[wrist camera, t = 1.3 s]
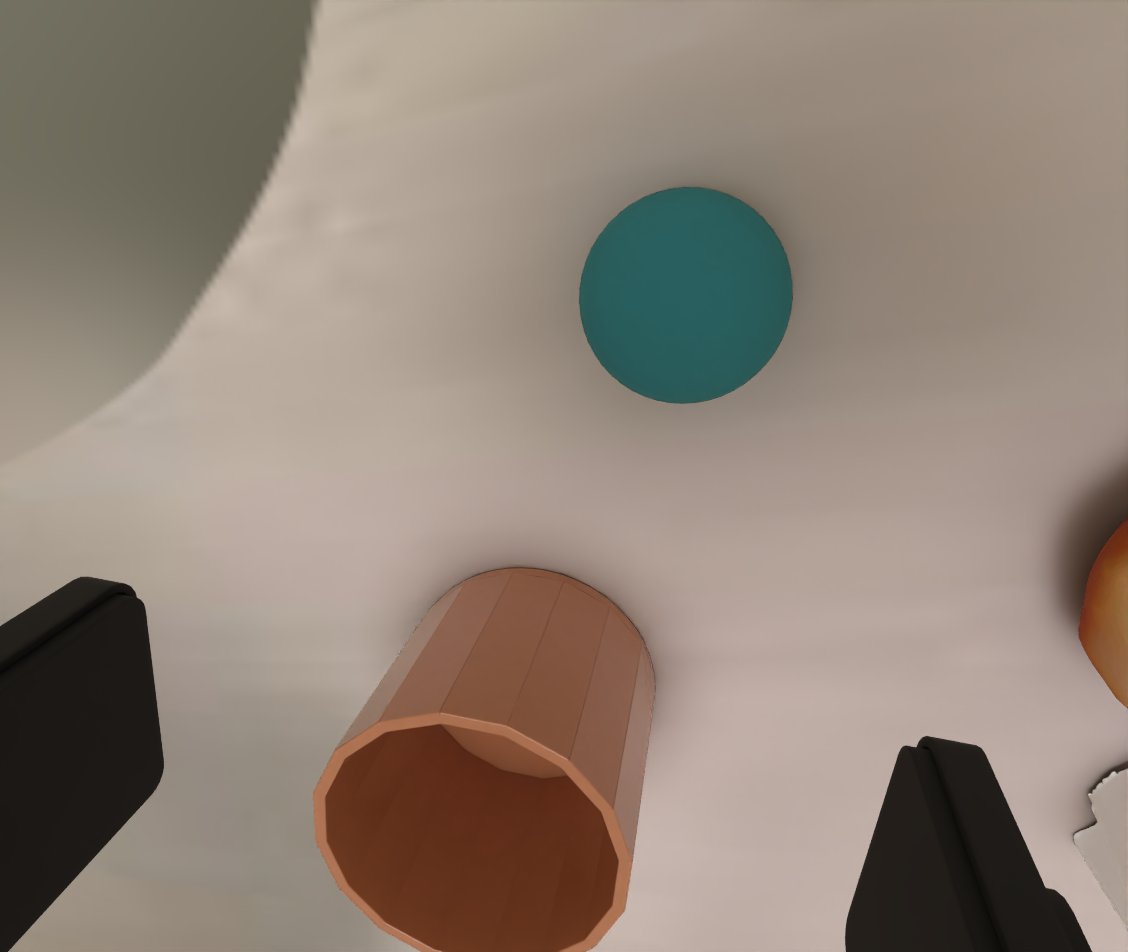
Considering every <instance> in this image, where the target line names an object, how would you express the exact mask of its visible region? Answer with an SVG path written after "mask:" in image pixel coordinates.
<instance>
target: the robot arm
mask: <svg viewBox="0 0 1128 952" xmlns="http://www.w3.org/2000/svg"><path fill="white" fill-rule="evenodd" d="M163 769H164V758H163V750H162V742H161V733H160V725H159V717H158V709H157V700H156V692H155V684H154V675H153V667H152V659H151V651H150V642H149V634H148V626H147V617H146V610H145V606H144V603H143V602H142V601H141V600H140V599H138V598H137V597H136V593H135V591H134V590H133V588H132V587H131V586H129V585H127V584H124V583H119V582H113V581H108V580H103V579H98V578H92V577H80V578H77V579H75V580H73V581H71V582H70V583H68V584H66V585H65V586H63V587H62V588H60V589H58V590H57V591H55V592H54V593H52V594H50V595H49V596H47V597H46V598H44V599H43V600H41V601H39V602H38V603H36V604H35V605H33V606H31V607H30V608H28V609H27V610H25V611H24V612H22V613H20V614H19V615H17V616H16V617H14V618H12V619H11V620H9V621H8V622H6V623H5V624H3V625H1V626H0V952H8V951H9V950H10V949H11V948H12V947H13V946H14V945H15V943H16V942H17V941H18V940H19V939H20V938H21V937H22V936H23V935H24V934H25V932H26V931H27V930H28V929H29V928H30V927H31V926H32V925H33V924H34V923H35V922H36V920H37V919H38V918H39V917H40V916H41V915H42V914H43V913H44V912H45V911H46V910H47V908H48V907H49V906H50V905H51V904H52V903H53V902H54V901H55V900H56V899H57V898H58V896H59V895H60V894H61V893H62V892H63V891H64V890H65V889H66V888H67V887H68V885H69V884H70V883H71V882H72V881H73V880H74V879H75V878H76V877H77V876H78V875H79V873H80V872H81V871H82V870H83V869H84V868H85V867H86V866H87V865H88V864H89V863H90V861H91V860H92V859H93V858H94V857H95V856H96V855H97V854H98V853H99V852H100V851H101V849H102V848H103V847H104V846H105V845H106V844H107V843H108V842H109V841H110V840H111V838H112V837H113V836H114V835H115V834H116V833H117V832H118V831H119V830H120V829H121V828H122V826H123V825H124V824H125V823H126V822H127V821H128V820H129V819H130V818H131V817H132V816H133V814H134V813H135V812H136V811H137V810H138V809H139V808H140V807H141V806H142V805H143V804H144V802H145V801H146V800H147V799H148V798H149V797H150V796H151V795H152V793H153V792H154V791H155V789H156V788H157V786H158V784H159V782H160V780H161V777H162V774H163ZM845 946H846V952H1092V951H1091V948H1090V946H1089V944H1088V942H1087V940H1086V938H1085V936H1084V934H1083V932H1082V929H1081V927H1080V925H1079V923H1078V921H1077V919H1076V917H1075V915H1074V913H1073V911H1072V909H1071V908H1070V906H1069V904H1068V903H1067V901H1066V900H1065V898H1064V897H1063V896H1062V895H1060V894H1059V893H1058V892H1057V891H1056V890H1053V889H1048V888H1045V886H1044V883H1043V881H1042V879H1041V877H1040V875H1039V872H1038V870H1037V868H1036V866H1035V863H1034V861H1033V859H1032V857H1031V854H1030V852H1029V850H1028V848H1027V846H1026V843H1025V841H1024V839H1023V837H1022V834H1021V832H1020V830H1019V828H1018V826H1017V823H1016V821H1015V819H1014V817H1013V814H1012V812H1011V810H1010V808H1009V806H1008V803H1007V801H1006V799H1005V797H1004V794H1003V792H1002V790H1001V788H1000V785H999V783H998V781H997V779H996V777H995V774H994V772H993V770H992V768H991V765H990V763H989V761H988V759H987V757H986V755H985V753H984V751H983V750H982V748H980V747H978V746H977V745H971V744H966V743H961V742H956V741H950V740H945V739H940V738H935V737H929V736H925V737H922V739H921V740H920V741H919V742H918V745H917V747H911V746H903V747H902V748H901V750H900V752H899V754H898V757H897V760H896V764H895V767H894V770H893V773H892V776H891V779H890V783H889V786H888V789H887V792H886V795H885V799H884V802H883V805H882V808H881V811H880V814H879V818H878V821H877V824H876V827H875V830H874V834H873V837H872V840H871V843H870V846H869V849H868V853H867V856H866V859H865V862H864V865H863V869H862V872H861V875H860V878H859V881H858V884H857V888H856V891H855V894H854V897H853V900H852V904H851V907H850V910H849V913H848V917H847V923H846V933H845Z"/></svg>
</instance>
